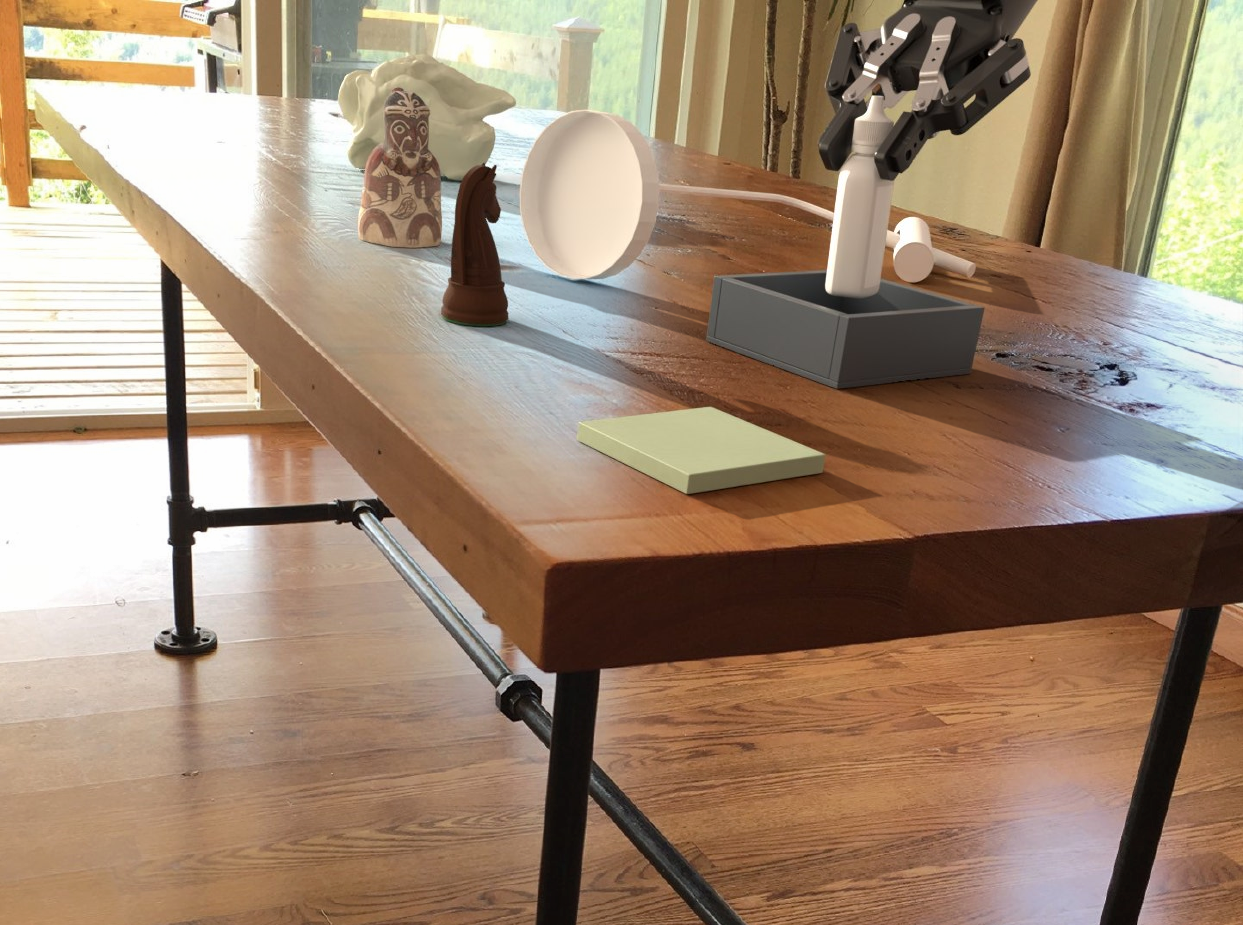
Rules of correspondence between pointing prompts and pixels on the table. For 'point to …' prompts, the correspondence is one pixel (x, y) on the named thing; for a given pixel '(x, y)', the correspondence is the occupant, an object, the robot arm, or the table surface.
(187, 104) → the table surface
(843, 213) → the eye dropper bottle
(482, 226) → the chess piece
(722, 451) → the pad
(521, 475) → the table surface
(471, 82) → the folded clay sculpture
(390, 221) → the figurine
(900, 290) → the bin
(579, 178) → the desk lamp
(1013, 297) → the table surface
